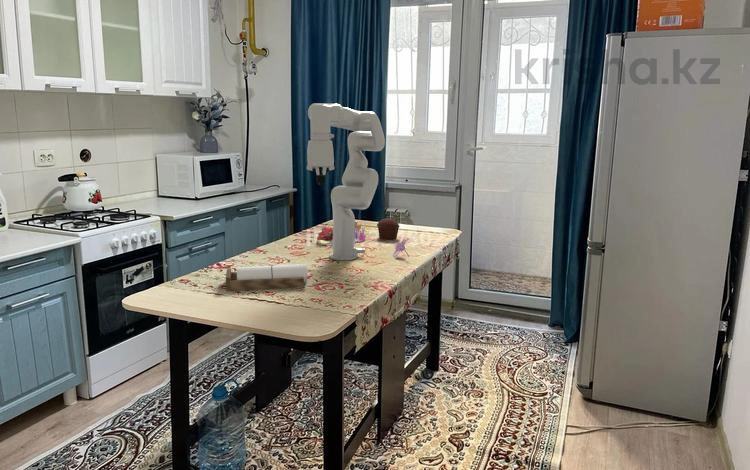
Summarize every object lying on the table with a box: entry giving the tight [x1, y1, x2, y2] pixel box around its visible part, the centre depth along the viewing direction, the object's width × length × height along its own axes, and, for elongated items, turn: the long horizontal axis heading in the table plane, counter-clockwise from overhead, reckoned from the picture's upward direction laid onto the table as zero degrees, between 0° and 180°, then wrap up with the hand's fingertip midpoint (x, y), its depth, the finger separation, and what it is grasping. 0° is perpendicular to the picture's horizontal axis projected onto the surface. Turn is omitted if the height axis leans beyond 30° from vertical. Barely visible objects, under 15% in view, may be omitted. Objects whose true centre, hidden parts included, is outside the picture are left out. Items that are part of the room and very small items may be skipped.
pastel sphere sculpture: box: [316, 220, 366, 247], centre depth 279 cm, size 25×24×9 cm
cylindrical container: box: [236, 263, 308, 284], centre depth 207 cm, size 7×7×25 cm
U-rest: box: [225, 267, 305, 292], centre depth 208 cm, size 28×12×5 cm, turn 102°
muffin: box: [376, 217, 400, 241], centre depth 284 cm, size 12×11×10 cm
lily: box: [392, 236, 410, 260], centre depth 251 cm, size 11×11×9 cm
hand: (320, 184), depth 220 cm, fingers closed
